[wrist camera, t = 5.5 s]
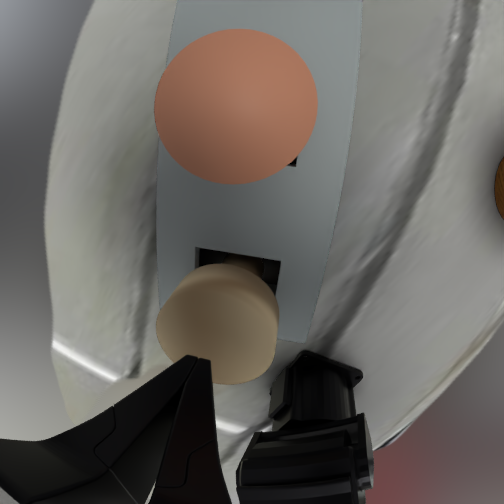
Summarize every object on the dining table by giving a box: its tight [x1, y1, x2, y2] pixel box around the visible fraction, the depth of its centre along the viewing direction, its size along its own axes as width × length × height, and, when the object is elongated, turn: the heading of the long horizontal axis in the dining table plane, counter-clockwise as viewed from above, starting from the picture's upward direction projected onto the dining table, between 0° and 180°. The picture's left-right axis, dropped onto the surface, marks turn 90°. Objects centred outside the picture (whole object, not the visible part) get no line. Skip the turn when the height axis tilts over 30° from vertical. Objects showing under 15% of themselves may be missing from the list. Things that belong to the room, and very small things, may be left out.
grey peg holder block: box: [156, 0, 363, 343], centre depth 14 cm, size 9×24×5 cm, turn 174°
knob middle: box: [154, 29, 318, 185], centre depth 11 cm, size 5×5×7 cm
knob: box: [156, 253, 280, 385], centre depth 15 cm, size 5×5×7 cm
